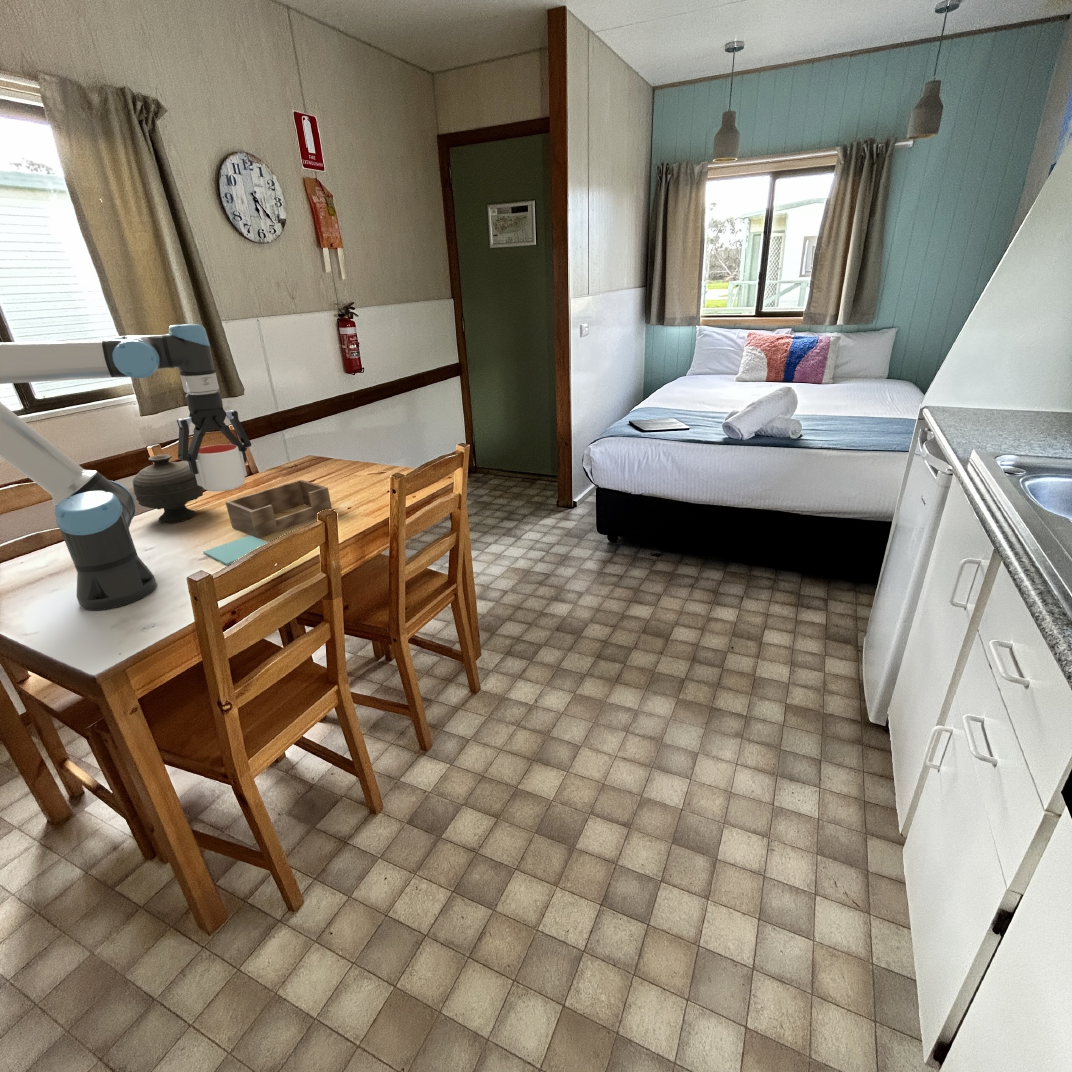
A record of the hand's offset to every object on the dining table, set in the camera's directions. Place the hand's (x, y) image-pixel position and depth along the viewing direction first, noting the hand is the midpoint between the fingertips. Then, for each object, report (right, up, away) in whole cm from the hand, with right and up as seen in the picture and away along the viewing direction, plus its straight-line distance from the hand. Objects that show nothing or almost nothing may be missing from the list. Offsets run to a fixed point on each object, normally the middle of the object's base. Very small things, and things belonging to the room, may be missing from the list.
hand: (223, 480), depth 150 cm
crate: (+4, -9, +26) cm, 28 cm away
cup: (0, -2, +1) cm, 2 cm away
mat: (+1, -18, +6) cm, 19 cm away
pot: (-31, -9, +32) cm, 45 cm away
